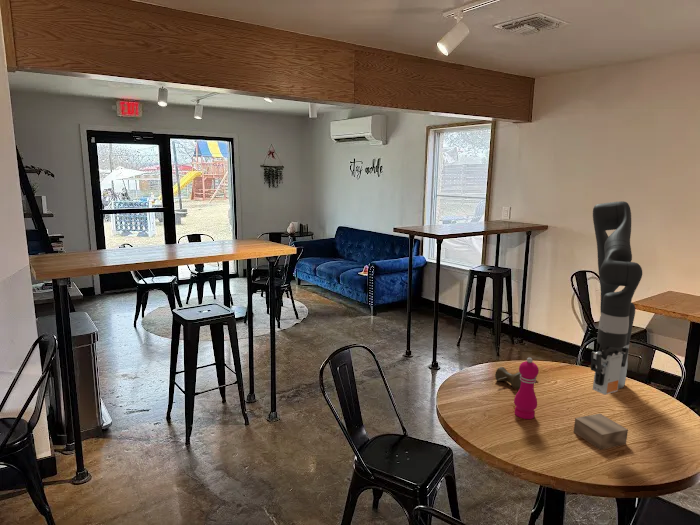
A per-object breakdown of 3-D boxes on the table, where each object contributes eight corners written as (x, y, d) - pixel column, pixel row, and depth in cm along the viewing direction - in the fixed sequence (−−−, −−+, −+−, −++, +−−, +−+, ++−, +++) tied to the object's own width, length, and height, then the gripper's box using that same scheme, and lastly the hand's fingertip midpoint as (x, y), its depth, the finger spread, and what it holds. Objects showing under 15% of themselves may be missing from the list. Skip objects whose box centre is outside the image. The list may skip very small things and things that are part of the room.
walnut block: (598, 428, 148) (600, 413, 147) (625, 445, 139) (627, 429, 138) (573, 432, 145) (575, 418, 144) (600, 450, 135) (602, 434, 135)
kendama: (542, 383, 181) (506, 392, 171) (522, 375, 189) (487, 383, 179) (543, 368, 180) (508, 377, 170) (523, 360, 188) (488, 368, 178)
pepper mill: (509, 414, 155) (514, 357, 151) (518, 407, 160) (523, 352, 156) (530, 422, 150) (536, 363, 146) (539, 414, 155) (545, 357, 151)
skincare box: (605, 395, 136) (610, 356, 134) (592, 389, 140) (596, 351, 137) (618, 391, 139) (623, 353, 137) (604, 385, 142) (609, 348, 140)
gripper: (616, 322, 142) (609, 373, 145) (585, 327, 136) (578, 381, 139) (641, 329, 136) (633, 383, 139) (609, 335, 129) (602, 392, 132)
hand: (606, 382), depth 139 cm, fingers closed on skincare box, 6 cm apart
